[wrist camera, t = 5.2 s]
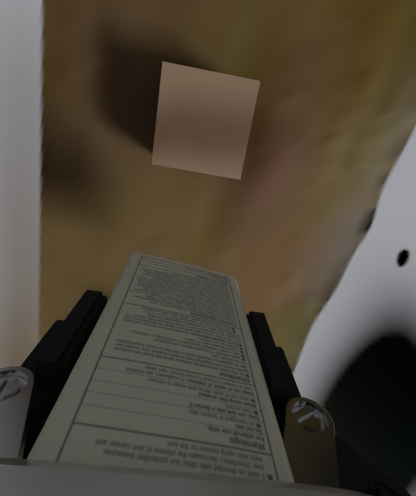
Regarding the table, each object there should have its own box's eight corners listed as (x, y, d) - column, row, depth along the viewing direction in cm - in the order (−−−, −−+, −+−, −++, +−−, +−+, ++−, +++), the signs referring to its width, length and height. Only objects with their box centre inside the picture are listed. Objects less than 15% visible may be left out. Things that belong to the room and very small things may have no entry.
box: (114, 324, 15) (-89, 771, 4) (133, 246, 13) (-105, 639, 3) (215, 348, 15) (245, 788, 5) (244, 277, 14) (365, 684, 4)
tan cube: (171, 81, 20) (162, 61, 15) (245, 95, 20) (260, 81, 15) (162, 159, 21) (151, 164, 16) (231, 171, 22) (240, 179, 17)
